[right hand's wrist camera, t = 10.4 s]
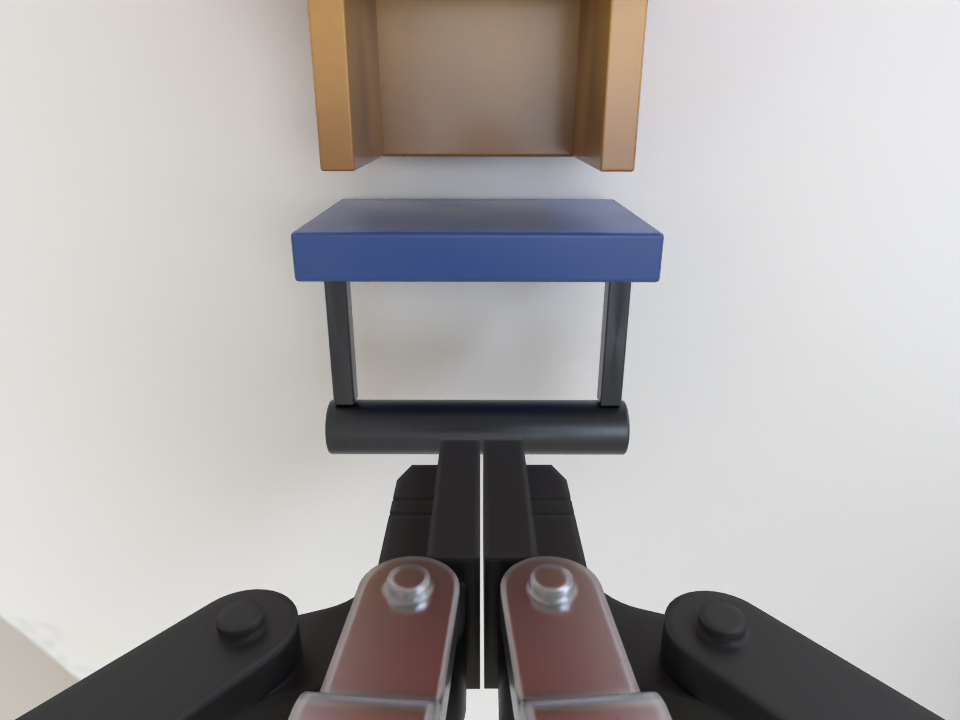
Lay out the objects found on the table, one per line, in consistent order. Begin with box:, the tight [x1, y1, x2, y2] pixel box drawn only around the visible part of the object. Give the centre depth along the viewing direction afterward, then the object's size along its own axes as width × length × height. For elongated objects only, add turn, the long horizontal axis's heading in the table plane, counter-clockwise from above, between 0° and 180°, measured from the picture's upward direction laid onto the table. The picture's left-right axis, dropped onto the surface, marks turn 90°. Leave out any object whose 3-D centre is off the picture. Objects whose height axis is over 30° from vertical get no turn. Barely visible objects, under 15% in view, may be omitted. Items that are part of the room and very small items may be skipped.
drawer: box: [291, 0, 664, 454], centre depth 17 cm, size 23×9×6 cm, turn 0°
